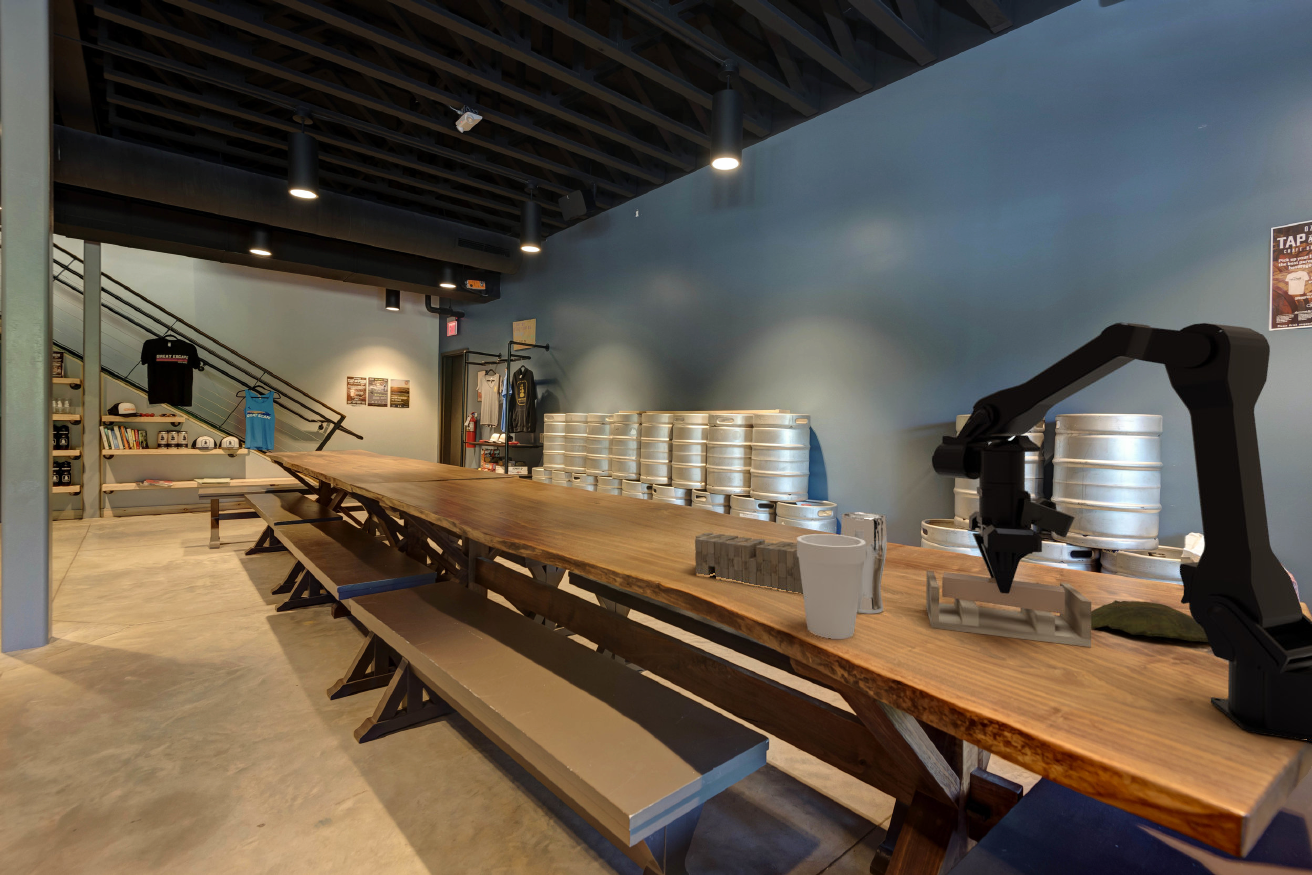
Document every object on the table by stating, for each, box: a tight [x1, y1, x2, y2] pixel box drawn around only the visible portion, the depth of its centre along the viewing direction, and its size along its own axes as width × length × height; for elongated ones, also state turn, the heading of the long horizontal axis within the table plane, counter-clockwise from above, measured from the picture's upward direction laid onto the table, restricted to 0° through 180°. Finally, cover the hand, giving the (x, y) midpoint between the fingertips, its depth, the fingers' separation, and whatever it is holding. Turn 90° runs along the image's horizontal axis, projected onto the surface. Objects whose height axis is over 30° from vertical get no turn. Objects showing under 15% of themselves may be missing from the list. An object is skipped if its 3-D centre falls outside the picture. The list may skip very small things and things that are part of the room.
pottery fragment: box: [1091, 599, 1209, 643], centre depth 80 cm, size 13×14×4 cm
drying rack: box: [925, 570, 1092, 648], centre depth 82 cm, size 10×19×6 cm, turn 68°
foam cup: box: [796, 533, 866, 640], centre depth 79 cm, size 10×9×13 cm
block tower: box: [694, 532, 803, 595], centre depth 106 cm, size 8×8×29 cm
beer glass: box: [840, 512, 888, 615], centre depth 90 cm, size 7×7×15 cm
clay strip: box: [941, 571, 1065, 614], centre depth 82 cm, size 15×4×3 cm, turn 58°
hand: (1000, 588), depth 82 cm, fingers open, 5 cm apart
